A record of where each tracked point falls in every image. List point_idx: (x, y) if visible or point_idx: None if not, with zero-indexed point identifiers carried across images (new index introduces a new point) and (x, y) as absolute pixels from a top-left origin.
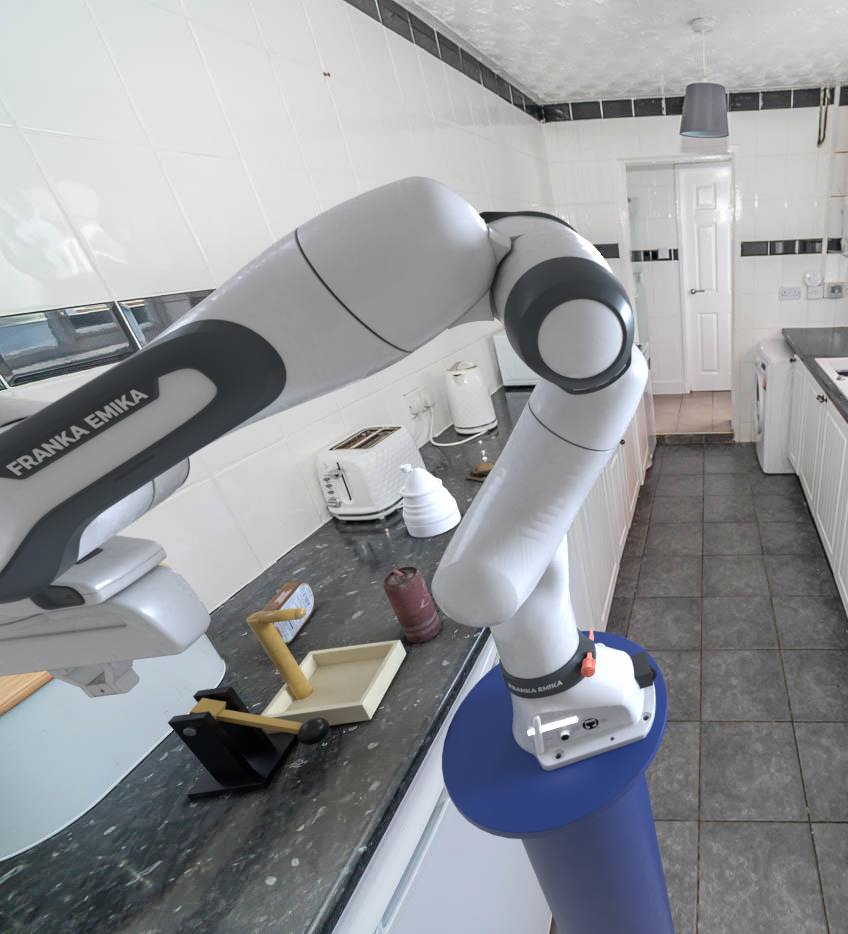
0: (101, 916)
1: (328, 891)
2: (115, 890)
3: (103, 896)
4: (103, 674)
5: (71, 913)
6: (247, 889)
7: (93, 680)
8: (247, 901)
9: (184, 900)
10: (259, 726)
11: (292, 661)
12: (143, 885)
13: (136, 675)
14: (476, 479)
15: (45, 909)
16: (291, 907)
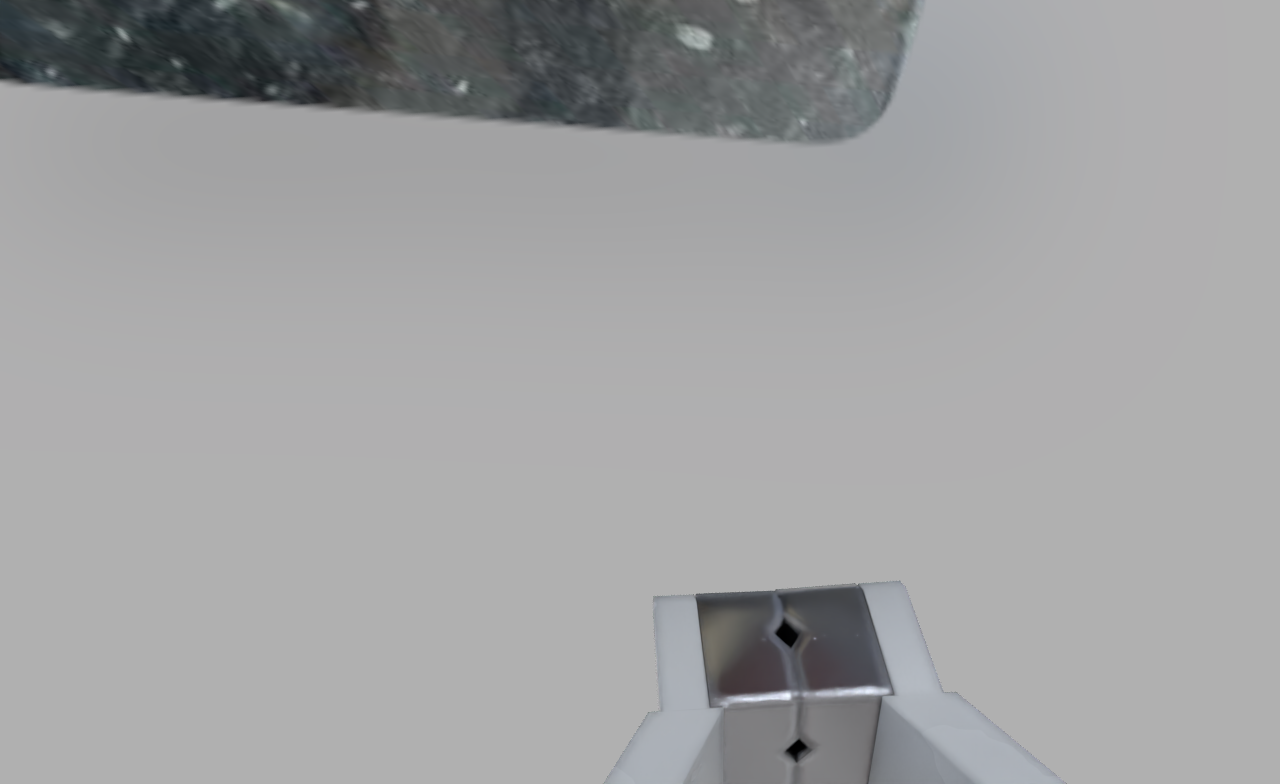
0: (238, 88)
1: (888, 82)
2: (197, 21)
3: (177, 35)
4: (753, 737)
5: (129, 72)
6: (637, 56)
7: (727, 776)
8: (660, 87)
9: (460, 68)
10: None
11: None
12: (278, 15)
13: (917, 621)
14: None
15: (24, 55)
16: (800, 112)
